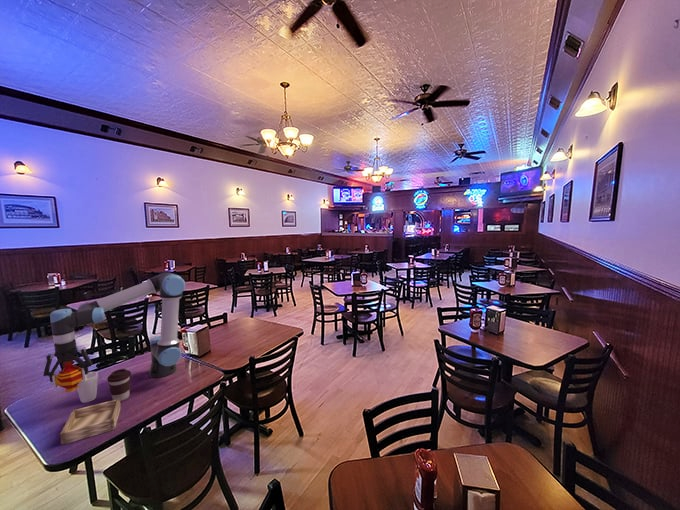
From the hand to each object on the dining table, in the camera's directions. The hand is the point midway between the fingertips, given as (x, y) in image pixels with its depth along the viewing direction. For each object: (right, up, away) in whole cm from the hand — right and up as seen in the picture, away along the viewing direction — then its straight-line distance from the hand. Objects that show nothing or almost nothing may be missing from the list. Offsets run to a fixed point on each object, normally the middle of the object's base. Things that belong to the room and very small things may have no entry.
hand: (70, 383), depth 139 cm
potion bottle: (0, -3, 0) cm, 3 cm away
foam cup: (-3, -14, +13) cm, 19 cm away
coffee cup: (+14, -14, +14) cm, 24 cm away
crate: (+17, -16, -7) cm, 25 cm away
